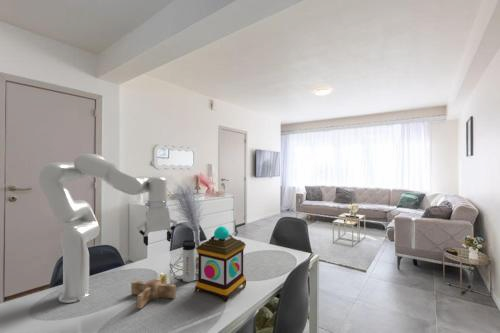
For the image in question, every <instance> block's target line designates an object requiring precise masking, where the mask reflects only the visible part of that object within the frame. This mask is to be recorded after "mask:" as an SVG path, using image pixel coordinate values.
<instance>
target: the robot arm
mask: <svg viewBox="0 0 500 333" xmlns="http://www.w3.org/2000/svg"><path fill="white" fill-rule="evenodd" d="M37 176H38V178H37V179H38V180H37V181H38V185H39V186H38V187H39V188H40V189H41V192H42V193H43V195H44V196H45V198H46V200H47V203H48V205H49V207H50V210H51V212H52V214H53V217H54V218H55V220H56V222H57V223H59V224H61V225H67V224H70V223H75V224H71V225H69V226H68V227H66V228H65V229H64V230H63V231H62V232H61V234H60V237H59V240H60V245H61V249H62V293H61V294H60V295H59V296H58V302H60V303H64V304H70V303H76V302H77V303H78V302H80V300H81V299H84V298H86V297H88V296H89V295H90V289H91V288H92V286H90V252H89V249H88V246H87V243H88V242H90V241H92V240H94V239H96V238H97V237H98V236H99V234H100V231H101V230H100V225H99V222H98V220H97V217H96V216H95V213H94V210H93V208H92V206H91V204H90V203H89V202H87V201H86V200H83V199H74V198H73V196H72V193H71V191H70V189H68V187H67V186H65V184H64V182H71V181H77V180H81V179H83V178H86V177H90V176H91V177H94V178H95V179H98V180H101V181H103V182H104V183H106V184H107V185H108V186H110V187H112V189H115V190H118V191H119V192H122V193H124V194H127V195H131V196H137V195H140V194H141V195H142V194H145V193H147V194H148V197H147V198H148V202H144V206H145V207H148V208H146V213H145V220H144V222H142V223H140V224H139V225H138V226H136V230H137V231H138V232H139V233H140V235H142V236H143V244H144V245H145V247H146V246H149V236H148V235H149V233H153V232H159V231H160V232H161V231H167V232H166V241H167V242H171V240H172V232H173V231H174V230H175V229H176V226H177V224H178V222H177V221H176V220H173V219H171V216H170V215H171V214H170V209H169V206H167V179H166V177H163V176H156V177H155V176H153V177H149V176H135V177H134V176H132V175H129V174H127V173H124V172H123V171H120V170H119V169H118V166H117V165H116V164H115V163H113V162H110V161H108V160H106V159H105V158H104V156H102V155H100V154H96V153H88V152H87V153H81V154H79V155H76V156H75V158H74V159H73V162H63V161H62V162H60V161H59V162H51V163H48V164H45V166H44V167H42V168H41V169H40V171H39V173H38V175H37ZM171 223H172V224H171ZM143 227H144V229H145V230H142V228H143Z"/></svg>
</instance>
